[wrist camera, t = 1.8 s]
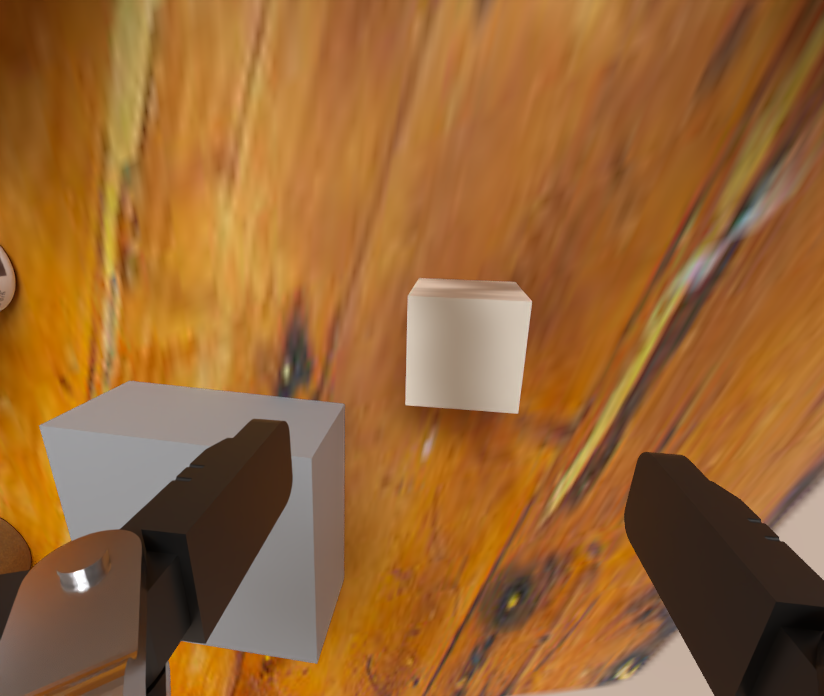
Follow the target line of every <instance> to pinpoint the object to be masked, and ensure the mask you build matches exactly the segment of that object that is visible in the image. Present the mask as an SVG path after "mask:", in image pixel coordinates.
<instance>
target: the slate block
mask: <svg viewBox="0 0 824 696" xmlns="http://www.w3.org/2000/svg"><path fill="white" fill-rule="evenodd" d="M252 419H267V420H279V421H286V422H287V424H288V426H289V431H290V444H291V459H292V473H293V483H292V490H291V494H290V497H289V500H288V503H287V505H286V506H285V508H284V510H283V512H282V513H281V515H280V517H279V518H278V520H277V522H276V524H275V525H274V527H273V529H272V531H271V532H270V534H269V536H268V537H267V539H266V541H265V543H264V544H263V546H262V548H261V549H260V551H259V553H258V555H257V556H256V558H255V560H254V561H253V563H252V565H251V567H250V568H249V570H248V572H247V573H246V575H245V577H244V579H243V580H242V582H241V584H240V585H239V587H238V589H237V591H236V592H235V594H234V596H233V598H232V599H231V601H230V603H229V604H228V606H227V608H226V610H225V611H224V613H223V615H222V616H221V618H220V620H219V622H218V623H217V625H216V627H215V628H214V630H213V632H212V634H211V635H210V637H209V639H208V640H207V642H206V644H203V643H197V644H203V645H209V646H215V647H221V648H227V649H233V650H239V651H245V652H250V653H256V654H262V655H268V656H274V657H280V658H286V659H292V660H298V661H304V662H310V663H316V664H317V663H318V659H319V656H320V653H321V650H322V647H323V644H324V641H325V637H326V634H327V631H328V628H329V625H330V622H331V618H332V615H333V612H334V609H335V606H336V603H337V600H338V596H339V593H340V590H341V587H342V584H343V581H344V474H345V404H342V403H333V402H323V401H314V400H304V399H295V398H286V397H276V396H267V395H257V394H248V393H239V392H229V391H220V390H210V389H201V388H192V387H182V386H173V385H164V384H154V383H145V382H135V381H128V382H126V383H124V384H122V385H120V386H118V387H116V388H114V389H112V390H110V391H108V392H106V393H104V394H102V395H100V396H98V397H96V398H94V399H92V400H90V401H88V402H86V403H84V404H82V405H80V406H78V407H76V408H74V409H72V410H70V411H68V412H66V413H64V414H62V415H60V416H57V417H55V418H53V419H51V420H49V421H47V422H45V423H43V424H41V425H39V427H40V430H41V434H42V437H43V441H44V444H45V448H46V452H47V455H48V459H49V462H50V466H51V469H52V473H53V477H54V480H55V484H56V487H57V491H58V494H59V498H60V501H61V505H62V509H63V512H64V516H65V519H66V523H67V526H68V530H69V533H70V537H71V541H73V540H75V539H77V538H80V537H82V536H85V535H88V534H91V533H95V532H99V531H105V530H115V529H120V528H122V527H123V526H124V525H125V524H126V523H127V522H128V521H129V520H130V519H131V518H132V517H133V516H134V515H136V514H137V513H138V512H139V511H140V510H141V509H142V508H143V507H144V506H145V505H146V504H147V503H148V502H149V501H151V500H152V499H153V498H154V497H155V496H156V495H157V494H158V493H159V492H160V491H161V490H162V489H163V488H165V487H166V486H167V485H168V484H169V483H170V482H171V481H172V480H176V476H177V475H178V474H180V473H181V472H182V471H183V470H184V469H185V468H186V467H189V466H190V463H191V462H192V461H194V460H195V459H196V458H197V457H198V456H199V455H200V454H201V453H202V452H203V451H204V450H205V449H207V448H209V447H211V446H213V445H215V444H216V443H218V442H220V441H222V440H224V439H226V438H233V437H234V436H235V435H236V434H237V433H238V432H239V431H240V430H241V429H242V428H243V427H244V426H245V425H246V424H247V423H248V422H249V421H251V420H252ZM185 642H188V641H185ZM191 643H195V642H191Z"/></svg>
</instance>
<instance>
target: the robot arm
mask: <svg viewBox="0 0 824 696" xmlns="http://www.w3.org/2000/svg"><path fill="white" fill-rule="evenodd" d="M292 483H293V473H292V459H291V444H290V431H289V426H288V424H287V422H286V421H279V420H267V419H252V420H251V421H249V422H248V423H247V424H246V425H245V426H244V427H243V428H242V429H241V430H240V431H239V432H238V433H237V434H236V435H235V436H234V437H233V438H226V439H224V440H222V441H220V442H218V443H216V444H215V445H213V446H211V447H209V448H207V449H205V450H204V451H203V452H202V453H201V454H200V455H199V456H198V457H197V458H196V459H195V460H194V461H192V462H191V463H190V466H189V467H186V468H185V469H184V470H183V471H182V472H181V473H180V474H178V475H177V476H176V480H172V481H171V482H170V483H169V484H168V485H167V486H166V487H165V488H163V489H162V490H161V491H160V492H159V493H158V494H157V495H156V496H155V497H154V498H153V499H152V500H151V501H149V502H148V503H147V504H146V505H145V506H144V507H143V508H142V509H141V510H140V511H139V512H138V513H137V514H136V515H134V516H133V517H132V518H131V519H130V520H129V521H128V522H127V523H126V524H125V525H124V526H123V527H122V528H120V529H115V530H105V531H99V532H95V533H91V534H88V535H85V536H82V537H80V538H77V539H75V540H73V541H70V542H68V543H67V544H65V545H63V546H61V547H59V548H58V549H56V550H54V551H53V552H51V553H50V554H48V555H47V556H46V557H44V558H43V559H42V560H41V561H39V562H38V563H37V564H36V565H35V566H34V567H33V568H32V569H31V570H26V571H19V572H13V573H6V574H0V696H171V687H170V667H169V662H168V660H169V658H170V657H171V655H172V654H173V652H174V650H175V649H176V647H177V646H178V644H179V643H180V641H188V642H195V643H203V644H206V642H207V640H208V639H209V637H210V635H211V634H212V632H213V630H214V628H215V627H216V625H217V623H218V622H219V620H220V618H221V616H222V615H223V613H224V611H225V610H226V608H227V606H228V604H229V603H230V601H231V599H232V598H233V596H234V594H235V592H236V591H237V589H238V587H239V585H240V584H241V582H242V580H243V579H244V577H245V575H246V573H247V572H248V570H249V568H250V567H251V565H252V563H253V561H254V560H255V558H256V556H257V555H258V553H259V551H260V549H261V548H262V546H263V544H264V543H265V541H266V539H267V537H268V536H269V534H270V532H271V531H272V529H273V527H274V525H275V524H276V522H277V520H278V518H279V517H280V515H281V513H282V512H283V510H284V508H285V506H286V505H287V503H288V500H289V497H290V494H291V490H292ZM624 522H625V529H626V533H627V536H628V539H629V541H630V543H631V545H632V547H633V548H634V550H635V552H636V554H637V556H638V558H639V559H640V561H641V563H642V565H643V567H644V568H645V570H646V572H647V574H648V576H649V578H650V579H651V581H652V583H653V585H654V587H655V588H656V590H657V592H658V594H659V596H660V598H661V599H662V601H663V603H664V605H665V607H666V608H667V610H668V612H669V614H670V616H671V618H672V619H673V621H674V623H675V625H676V627H677V628H678V630H679V632H680V634H681V636H682V638H683V639H684V641H685V643H686V645H687V646H688V648H689V650H690V652H691V654H692V656H693V658H694V659H695V661H696V663H697V665H698V667H699V668H700V670H701V672H702V674H703V676H704V677H705V679H706V681H707V683H708V684H709V687H710V688H711V690H712V692H713V694H714V696H824V580H823V579H822V578H821V577H820V576H819V575H817V573H816V572H814V571H813V570H812V569H811V568H810V567H809V566H808V565H807V564H806V563H805V562H804V561H803V560H802V559H801V558H800V557H799V556H798V555H797V554H796V553H795V552H794V551H793V550H792V549H791V548H790V547H789V546H788V545H787V544H786V543H785V542H780V540H779V537H778V536H777V535H776V534H775V533H774V532H773V531H772V530H771V529H770V528H769V527H768V526H767V525H766V524H764V523H761V519H760V518H759V517H758V516H757V515H756V514H755V513H754V512H753V511H752V510H751V509H750V508H749V507H748V506H747V505H746V504H745V503H744V502H743V501H741V500H740V499H739V498H738V497H736V496H734V495H733V494H731V493H730V492H728V491H727V490H725V489H723V488H722V487H720V486H719V485H717V484H716V483H714V482H712V481H709V480H708V479H707V478H706V477H705V476H704V475H703V474H702V473H701V471H700V470H699V469H698V468H697V467H696V466H695V465H694V464H693V463H692V462H691V461H690V460H689V459H688V458H686V457H685V456H683V455H675V454H663V453H651V452H644V453H642V454H641V455H640V456H639V458H638V461H637V464H636V468H635V472H634V476H633V480H632V484H631V488H630V492H629V496H628V499H627V503H626V507H625V513H624Z"/></svg>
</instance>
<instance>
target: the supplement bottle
mask: <svg viewBox="0 0 824 696" xmlns="http://www.w3.org/2000/svg"><path fill="white" fill-rule="evenodd" d="M14 292H15V274H14V270H13V267H12V264H11V262H10V260H9V258H8V256H7V255H6V253H5V252H4V250H3V249H2V248H1V246H0V311H1V310H3V309H4V308H5V307H6V306H7V305H8V304H9V303H10V302H11V300H12V298H13V296H14Z"/></svg>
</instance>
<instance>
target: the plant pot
mask: <svg viewBox="0 0 824 696" xmlns="http://www.w3.org/2000/svg"><path fill="white" fill-rule="evenodd" d="M30 566H31V554H30V551H29V548H28V546H27V544H26V542H25V540H24V539H23V537H22V536H21V535H20V534H19V533H18V532H17V531H16V530H15V529H14V528H13V527H12V526H11V525H10V524H9V523H7V522H6V521H4V520H3V519H1V518H0V574H6V573H13V572H19V571H26V570H29V569H30Z"/></svg>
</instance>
